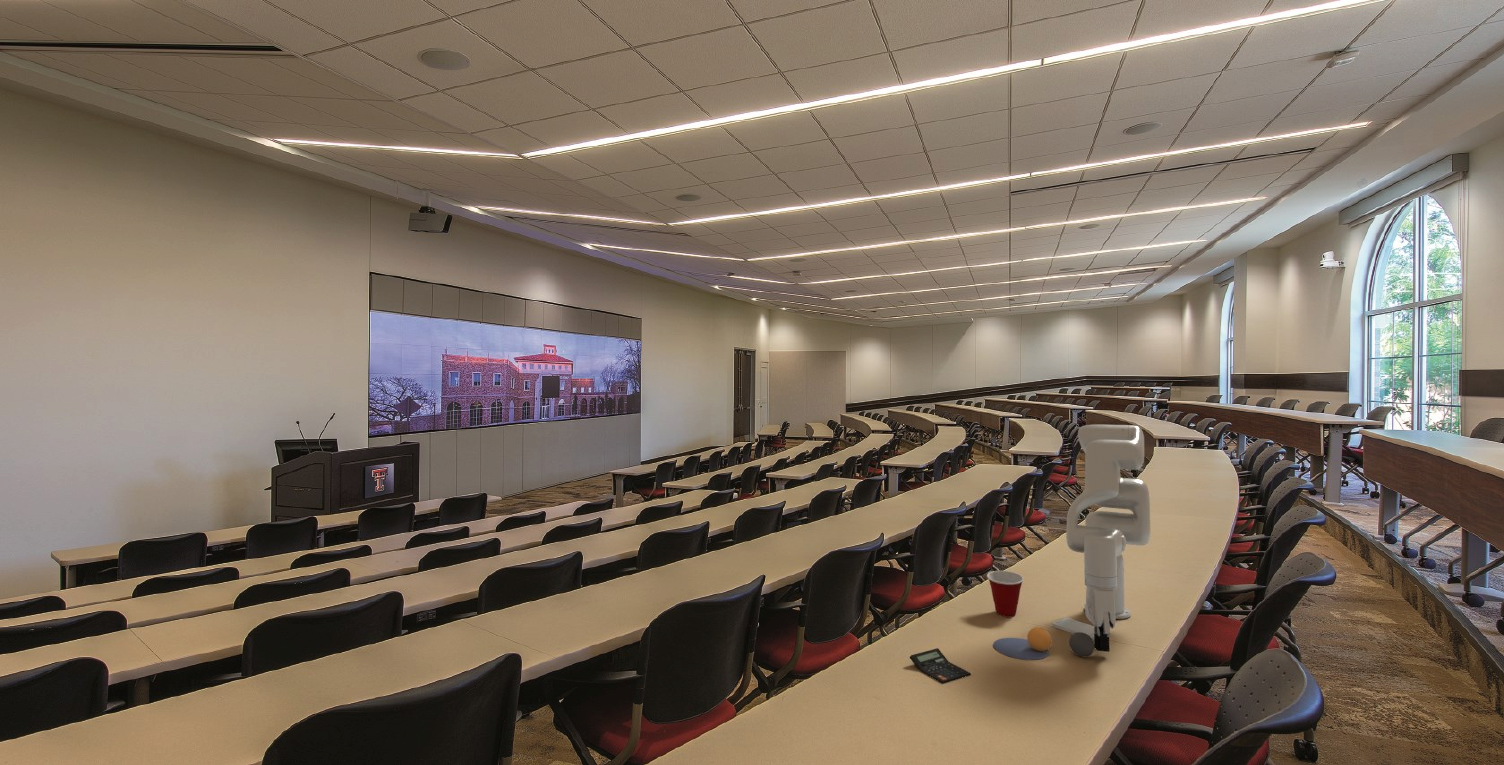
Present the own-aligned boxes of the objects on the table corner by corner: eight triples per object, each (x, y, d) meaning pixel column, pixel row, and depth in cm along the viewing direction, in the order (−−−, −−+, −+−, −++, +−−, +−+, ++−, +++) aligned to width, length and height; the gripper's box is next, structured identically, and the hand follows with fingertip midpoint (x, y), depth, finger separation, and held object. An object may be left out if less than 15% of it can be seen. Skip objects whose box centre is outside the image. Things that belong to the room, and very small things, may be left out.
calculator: (942, 685, 150) (942, 672, 150) (909, 666, 160) (909, 654, 160) (970, 676, 154) (970, 664, 154) (936, 658, 164) (936, 647, 164)
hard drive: (1051, 623, 185) (1093, 636, 174) (1067, 617, 189) (1108, 630, 179) (1051, 628, 185) (1093, 642, 174) (1067, 622, 189) (1108, 635, 179)
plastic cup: (987, 617, 192) (986, 578, 192) (987, 606, 202) (987, 569, 202) (1025, 622, 188) (1024, 582, 188) (1024, 610, 198) (1023, 572, 198)
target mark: (990, 636, 177) (990, 635, 177) (1043, 640, 174) (1043, 640, 174) (996, 657, 164) (996, 656, 164) (1054, 662, 160) (1054, 661, 160)
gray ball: (1093, 636, 167) (1077, 651, 168) (1076, 623, 166) (1060, 638, 168) (1103, 650, 161) (1086, 666, 162) (1086, 637, 160) (1069, 653, 162)
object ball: (1047, 648, 170) (1023, 643, 172) (1050, 626, 170) (1027, 621, 171) (1052, 657, 164) (1028, 652, 166) (1055, 635, 164) (1031, 630, 166)
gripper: (1077, 571, 172) (1078, 637, 172) (1093, 588, 158) (1094, 660, 158) (1107, 573, 171) (1108, 640, 170) (1126, 590, 156) (1127, 663, 156)
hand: (1101, 650), depth 164 cm, fingers closed
